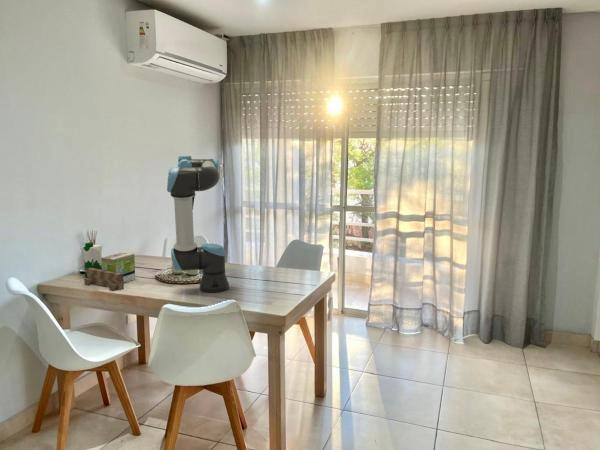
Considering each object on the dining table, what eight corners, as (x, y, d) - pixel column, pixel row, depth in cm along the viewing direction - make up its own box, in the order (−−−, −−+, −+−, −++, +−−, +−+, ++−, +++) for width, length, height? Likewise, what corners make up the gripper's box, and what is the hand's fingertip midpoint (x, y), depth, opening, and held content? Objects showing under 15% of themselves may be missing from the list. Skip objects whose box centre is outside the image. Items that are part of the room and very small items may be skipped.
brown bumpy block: (123, 288, 247) (122, 273, 246) (115, 291, 242) (114, 276, 241) (91, 281, 260) (90, 267, 258) (82, 284, 255) (81, 269, 254)
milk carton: (82, 277, 268) (79, 243, 265) (94, 274, 276) (92, 240, 273) (94, 279, 265) (91, 244, 261) (106, 275, 273) (104, 241, 270)
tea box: (117, 286, 252) (115, 259, 249) (102, 284, 255) (100, 257, 253) (136, 279, 266) (134, 253, 263) (121, 277, 269) (120, 251, 267)
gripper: (189, 181, 281) (190, 220, 285) (173, 182, 270) (174, 223, 273) (198, 181, 277) (200, 221, 281) (182, 183, 266) (184, 224, 270)
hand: (187, 222), depth 277 cm, fingers closed
